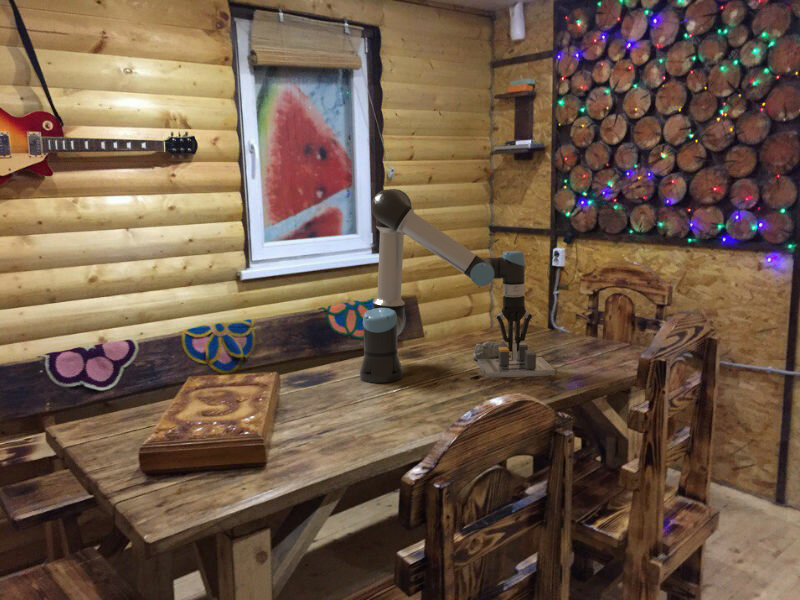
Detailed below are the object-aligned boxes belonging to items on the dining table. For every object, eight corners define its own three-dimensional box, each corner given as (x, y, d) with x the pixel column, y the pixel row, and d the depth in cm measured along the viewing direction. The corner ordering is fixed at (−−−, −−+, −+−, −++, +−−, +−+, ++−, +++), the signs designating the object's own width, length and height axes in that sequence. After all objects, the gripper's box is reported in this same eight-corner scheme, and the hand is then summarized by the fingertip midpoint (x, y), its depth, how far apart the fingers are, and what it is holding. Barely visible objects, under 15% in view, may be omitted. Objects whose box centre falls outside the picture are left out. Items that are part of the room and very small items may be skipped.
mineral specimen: (498, 353, 257) (498, 336, 256) (509, 357, 251) (510, 340, 250) (465, 358, 250) (466, 341, 248) (477, 363, 244) (477, 345, 242)
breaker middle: (500, 365, 231) (500, 349, 230) (498, 362, 234) (498, 347, 233) (508, 365, 231) (509, 349, 230) (506, 362, 235) (506, 346, 234)
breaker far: (519, 360, 237) (519, 345, 236) (517, 357, 240) (517, 342, 239) (527, 360, 237) (527, 344, 236) (525, 357, 240) (525, 342, 239)
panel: (486, 378, 224) (486, 372, 224) (477, 364, 241) (477, 359, 241) (555, 375, 226) (555, 369, 225) (541, 362, 242) (541, 356, 242)
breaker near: (527, 369, 226) (527, 352, 225) (524, 366, 230) (524, 350, 228) (535, 368, 226) (536, 352, 225) (533, 365, 230) (533, 349, 229)
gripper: (497, 297, 224) (498, 364, 229) (534, 296, 225) (534, 362, 229) (493, 294, 232) (493, 358, 236) (529, 292, 233) (528, 356, 237)
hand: (513, 360), depth 233 cm, fingers closed
